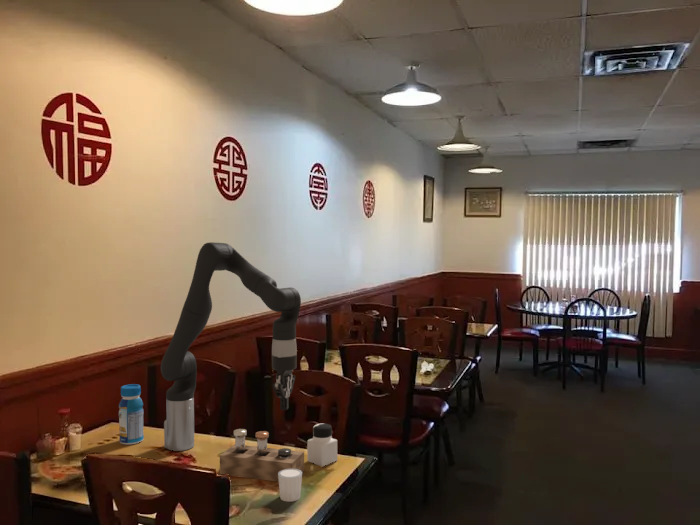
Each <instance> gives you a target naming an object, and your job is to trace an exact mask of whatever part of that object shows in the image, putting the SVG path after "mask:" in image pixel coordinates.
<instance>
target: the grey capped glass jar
mask: <svg viewBox="0 0 700 525" xmlns="http://www.w3.org/2000/svg"><path fill="white" fill-rule="evenodd" d="M278 449H279V450H278V456H280V458H284V459H289V458H290V455H291V450H292V449H291V448H288V447H287V448H286V447H284V448H278Z"/></svg>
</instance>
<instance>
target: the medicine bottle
mask: <svg viewBox="0 0 700 525" xmlns="http://www.w3.org/2000/svg"><path fill="white" fill-rule="evenodd" d="M332 427H333V426H332V425H330V424H329V423H317V424H315V425H314V426H313V427H312V435H313V436H312V438H309V439H308V440H307V446H306V447H307V449H306V450H307V453H306V454H307V462H309V463H312V464H313V463H314V465H316V466H319V467H321V466H322V468H323V467H326V466H329V465H331V464H333V463H336V462H338V439H336V438H333V436H332V435H333V434H332V433H333V431H332ZM335 461H336V462H335ZM332 462H333V463H332ZM330 463H331V464H330ZM325 465H326V466H325Z"/></svg>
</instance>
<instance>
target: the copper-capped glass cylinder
mask: <svg viewBox="0 0 700 525" xmlns="http://www.w3.org/2000/svg"><path fill="white" fill-rule="evenodd" d="M269 434H270V433H269V431H266V430H263V431H262V430H260V431H257V432H255V438H256V442H257V444H256V445H257V446H256V447H257V456H267V448H268V438H269V436H270V435H269Z"/></svg>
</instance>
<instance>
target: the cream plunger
mask: <svg viewBox="0 0 700 525" xmlns="http://www.w3.org/2000/svg"><path fill="white" fill-rule="evenodd" d="M247 433H248V432H247V429H245V428H237V429H234V430H233V436H234V437H235V439H234V440H235V444H234V445H235V453H239V454H244V453H245V446H246V436H247Z"/></svg>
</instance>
